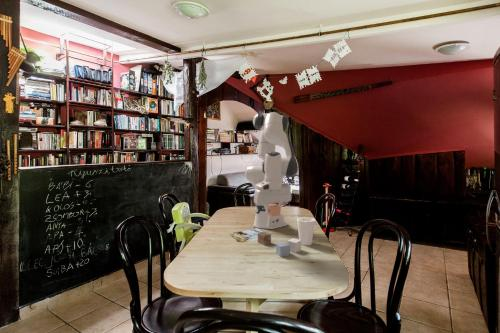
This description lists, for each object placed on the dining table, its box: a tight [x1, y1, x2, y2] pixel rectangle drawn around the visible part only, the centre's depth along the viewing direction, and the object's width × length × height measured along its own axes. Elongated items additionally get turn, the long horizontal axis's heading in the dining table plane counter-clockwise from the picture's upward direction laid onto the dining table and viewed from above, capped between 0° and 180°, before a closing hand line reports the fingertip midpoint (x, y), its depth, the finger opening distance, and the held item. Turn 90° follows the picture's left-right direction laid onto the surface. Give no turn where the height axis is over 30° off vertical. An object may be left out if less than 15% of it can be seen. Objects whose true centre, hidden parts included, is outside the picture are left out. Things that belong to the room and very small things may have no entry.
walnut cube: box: [257, 231, 272, 246], centre depth 156 cm, size 5×5×5 cm
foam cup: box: [296, 216, 316, 246], centre depth 154 cm, size 10×9×13 cm
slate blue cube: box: [275, 241, 291, 258], centre depth 140 cm, size 5×5×5 cm
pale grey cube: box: [286, 237, 302, 254], centre depth 145 cm, size 5×5×5 cm
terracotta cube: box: [266, 203, 281, 217], centre depth 146 cm, size 5×5×5 cm
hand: (273, 211), depth 146 cm, fingers closed on terracotta cube, 5 cm apart
